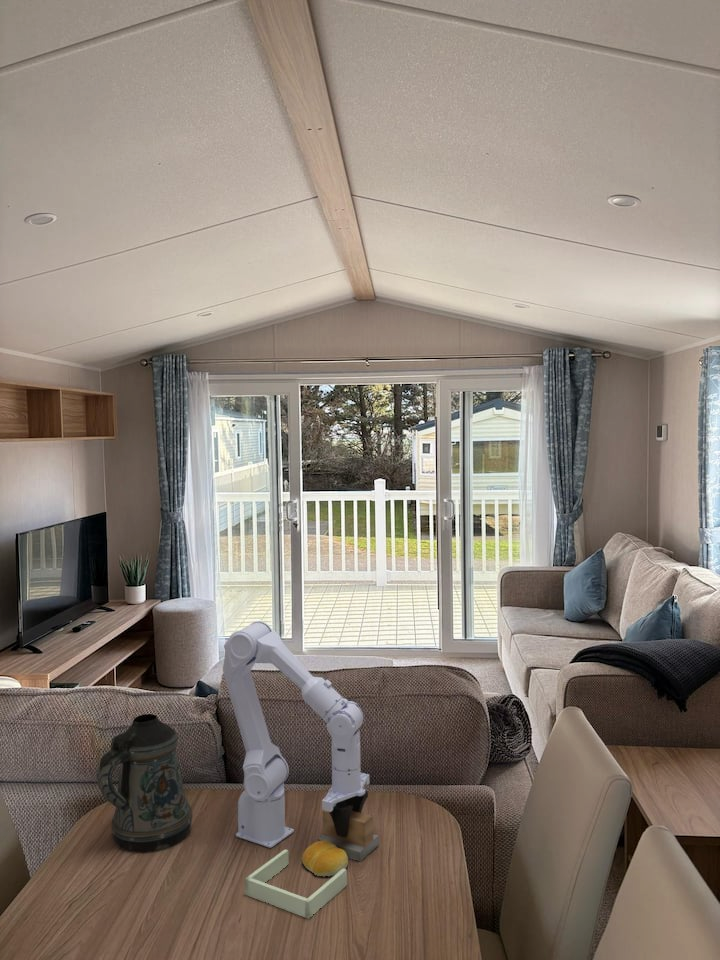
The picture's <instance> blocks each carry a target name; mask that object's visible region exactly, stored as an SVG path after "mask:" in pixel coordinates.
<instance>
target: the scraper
mask: <svg viewBox="0 0 720 960" xmlns="http://www.w3.org/2000/svg"><path fill="white" fill-rule="evenodd" d="M373 821H374V819H373V815H371V814H365V813H362V812H361V813H359V812H356V811H352V810H351V813H350V817H349V826H348V834H347V837H345V838H344V837H341V836H337V834H336V830H335V826H334V823H333V820H332V817H331V815H330V813H329V812H328V811H325V810H322V832H323V834H322V835H321V836H320V837H319V838H317V842H318V841H329V842H331V843H333V844H334V845H335V846H337V847H338V848H340V849H343V850H344V851H345V852H346V854H347V857H348V859H349V858H350V860H352V859H353V860H354V861H355V860H357V861H356V862H358V861H359V862H358V863H361V862H363V860H364V859H365V858H367V856H369V855H370V853H372V852H373V851H374V850H375V849H376V848H377V847H378V846H379V845H380V844H379V835H378V834H374V824H373V823H374V822H373ZM353 860H352V861H353Z"/></svg>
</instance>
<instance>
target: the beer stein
mask: <svg viewBox="0 0 720 960" xmlns="http://www.w3.org/2000/svg"><path fill="white" fill-rule="evenodd" d="M178 741H179V734H178V733H177V731H176V730H175V729H174V728H173V727H172V726H170V725H168V724H167V723H164V722H163V721H161V720H159V718H158V716H157V715H156V714H151V713H146V714H141V715H137V716H136V717H135V718H134V719H133V721H132V723H131V725H130V726H129V727H128V728H127V729H126V730H125V731H124V732H121V733H120V734H117V735H115V736H114V737H113V738H112V739H111V742H110V750H109V751H107V752H105V754H104V755H103V756H102V757H101V759H100V761H99V765H98V767H97V768H98V769H97V771H96V782H97V786H98V789H99V791H100V792H101V795H102V796H103V798H105V799H106V800H107V801H108V802H109V804H110V805H113V806H114V807H115V810H114V815H113V817H112V820H111V822H110V823H111V824H110V827H111V828H110V829H111V832H112V836H113V842H114V843H115V844H116V845H117V846H118V847H119V848H120V849H122V850H125V851H127V852H133V853H142V854H143V853H152V852H159V851H160V852H161V851H163V850H166V849H170V848H172V847H174V846H176V845H178V844H180V843H181V842H182V841H184V840H186V838H187V837H188V836H189V834H190V833H191V825H192V820H193V810H192V807H191V805H190V803H189V800H188V797H187V794H186V791H185V788H184V784H183V780H182V775H181V774H182V773H181V770H180V765H179V760H178V755H177V750H176V748H177V746H178V743H179V742H178ZM118 765H120V767H119V775H118V783H117V784H118V785H117V789H116V788H115V786H114V784H113V773H114V771H115V768H116V767H117V766H118Z"/></svg>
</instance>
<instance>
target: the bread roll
mask: <svg viewBox="0 0 720 960" xmlns="http://www.w3.org/2000/svg"><path fill="white" fill-rule="evenodd" d="M301 861H302V864H303V866H304V867H305V868H306V869H307V870H309V871H310V872H312V874H313V873H314V874H313V875H315V876H316V875H317V876H316V877H319V876H323V878H326V877H325V876H328V877H333V876H335V875H336V874H337V873H338V872H339V871H340V870H342V869H346V870H347V867H348V865H349V858H348V857H347V854H346V852H345V851H344V850H343V849H340V848H338V847H337V846H335V845H334V844H333V843H331V842H329V841H318V840H317V841H315V842H313V843H312V844H310V845H309V846H308V847H307V848H305V850H304V851H303V854H302V857H301Z"/></svg>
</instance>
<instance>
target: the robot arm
mask: <svg viewBox="0 0 720 960" xmlns="http://www.w3.org/2000/svg"><path fill="white" fill-rule="evenodd" d="M223 648H224V651H225V653H224V658H223V664H222V672H223V673H222V674H223V677H224V680H225V684H226V687H227V691H228V695H229V698H230V701H231V705H232V708H233V711H234V714H235V718H236V721H237V725H238V728H239V733H240V735H241V738H242V739H241V740H242V743H243V746H244V749H245V757H244V761H243V765H242V771H243V773H244V778H243V789H244V790H243V792H242V793H241V794H240V796H239V798H238V802H237V828H238V829H237V832H236V833H235V836H236V838H239V839H243V840H245V841H249V842H252V843H254V844H257V845H260V846H263V847H267V848H269V849H271V848H273V847H275V846H276V845H277V844H278V843H280V842H282V841H283V840H284V839H286V838H287V837H289V836H290V835H292V834H293V833H294V832H295V830H294V828H290V827H288V826H286V811H285V809H286V808H285V807H286V806H285V803H286V802H285V786H284V785H285V783H284V782H285V781H286V780H287V779H288V776H289V774H290V773H289V772H290V768H289V767H290V766H289V764H288V762H287V760H286V759H285V758H284V757H283V756H282V753H281V750H280V747H278V746H277V745H276V744H274V743H272V741H271V737H270V734H269V733H270V732H269V730H268V727H267V724H266V721H265V715H264V714H263V709H262V706H261V702H260V700H259V695H258V693H257V692H258V691H257V690H256V689H257V688H256V686H255V682H254V681H255V680H254V678H253V675H252V669H253V667H254V665H255V664H270V665H271V664H272V665H273V666H274V667H275V668H276V669H278V670H279V672H281V674H283V675H284V676H285V677H287V678H288V679H289V680H290V681H291V682H292V683H294V684H295V686H297V687H298V688H299V689H300V690H301V697H302V700H303V701H304V702H305V703H306V704H307V705H308V706H310V708H311V709H312V710H313V711H314V712H315V713H316V714H317V715H318V716H319V717H320V718H321V719H322V720H323V721H324V722H325V723H326V726H325V727H326V730H327V732H328V734H329V735H330V736H331V782H332V783H331V787H330V788H329V790H328V792H327V794H326V796H325V797H324V798H323V799H322V800H321V805H322V806H321V810H322V811H323V810H325V811H328V812H329V813H330V815H331V817H332V820H333V823H334V826H335V830H336V834H337V836H341V837H344V838H345V837H347V834H348V826H349V817H350V813H351V810H352V811H356V812H359V813H362V810H363V807H364V805H365V803H366V801H367V798H368V797H369V792H368V791H367V790H366V789H365V786H368V785H370V774H369V773H364V772H361V771H362V770H361V733H360V732H361V730H360V729H359V728H360V727H361V726H362V724H363V722H364V713H363V710H362V708H361V707H360V706H359V704H358V703H357V702H355V701H351V700H350V701H349V700H348V699H347V698H346V697H345V698H344V697H343V696H342V695H341V694H340V693H339V692H337V690H335V688H334V687H333V686H332V684H333V683H332V682H331V681H330V680H329V679H324V678H323V676H322V677H320V676H314V675H312V674H311V672H310V671H309V670H308V669H307V668H306V666H304V665H303V663H301V661H300V660H299V659H298V658H297V657H296V656H295V655H294V654H293V653H292V652H291V650H290V649H289V648H288V647H287V646H286V645H285V644H284V642H283V640H282V639H281V637H280V635H279V634H278V632H276V631H275V630H273V629H272V627H271V626H270V625H269V624H268V623H267V622H264V621H260V620H258V621H257V620H256V621H253V622H252V623H250V624H248V626H246V627H243V628H242V629H240V630H236V631H235V632H233V633H231V635H230V636H229V637H228V639H227V640H226V642H225V643H224V645H223Z"/></svg>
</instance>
